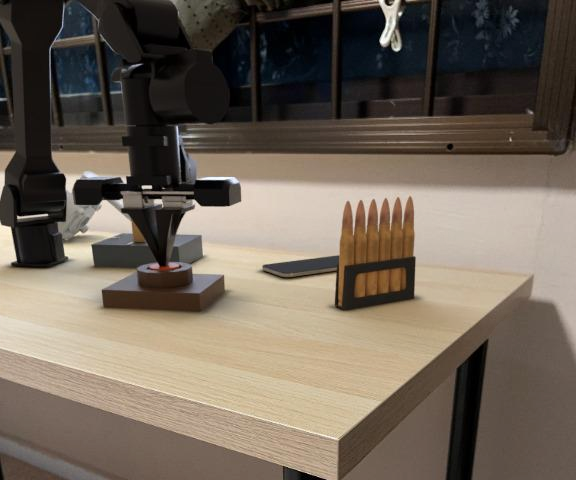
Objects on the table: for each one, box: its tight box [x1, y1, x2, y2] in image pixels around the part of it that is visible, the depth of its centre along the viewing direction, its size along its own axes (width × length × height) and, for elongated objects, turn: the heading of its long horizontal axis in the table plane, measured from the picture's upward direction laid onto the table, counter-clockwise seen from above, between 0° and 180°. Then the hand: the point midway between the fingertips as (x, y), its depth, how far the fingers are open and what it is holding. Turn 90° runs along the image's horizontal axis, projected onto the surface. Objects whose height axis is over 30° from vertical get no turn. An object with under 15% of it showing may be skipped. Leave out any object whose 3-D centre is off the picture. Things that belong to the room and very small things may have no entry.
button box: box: [101, 262, 226, 313], centre depth 75 cm, size 12×10×4 cm
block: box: [130, 219, 146, 242], centre depth 96 cm, size 6×2×5 cm, turn 4°
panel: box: [91, 232, 204, 269], centre depth 97 cm, size 14×11×4 cm
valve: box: [57, 170, 131, 242], centre depth 117 cm, size 10×20×15 cm
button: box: [149, 263, 179, 271], centre depth 74 cm, size 4×4×2 cm
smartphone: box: [261, 254, 339, 278], centre depth 91 cm, size 7×1×15 cm
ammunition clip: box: [334, 195, 417, 311], centre depth 71 cm, size 11×2×12 cm, turn 120°
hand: (164, 265), depth 74 cm, fingers closed, pressing on button
